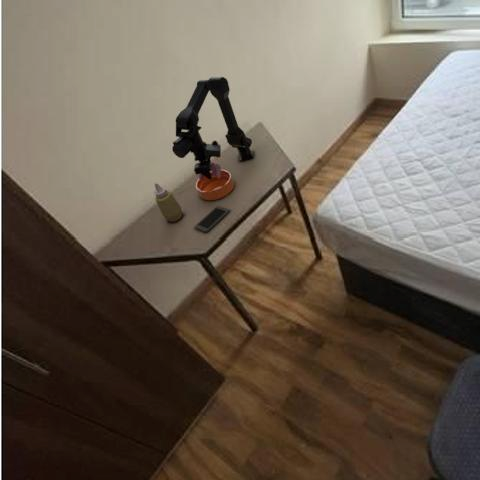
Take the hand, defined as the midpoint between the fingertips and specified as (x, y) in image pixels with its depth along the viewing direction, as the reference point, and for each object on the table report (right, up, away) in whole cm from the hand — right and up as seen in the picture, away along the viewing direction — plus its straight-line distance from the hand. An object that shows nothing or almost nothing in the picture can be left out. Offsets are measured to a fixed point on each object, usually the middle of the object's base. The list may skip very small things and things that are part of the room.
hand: (210, 174), depth 173 cm
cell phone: (+3, -20, -10) cm, 23 cm away
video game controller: (0, -1, +1) cm, 1 cm away
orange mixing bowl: (+1, -6, +5) cm, 8 cm away
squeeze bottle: (-14, -19, -4) cm, 24 cm away
